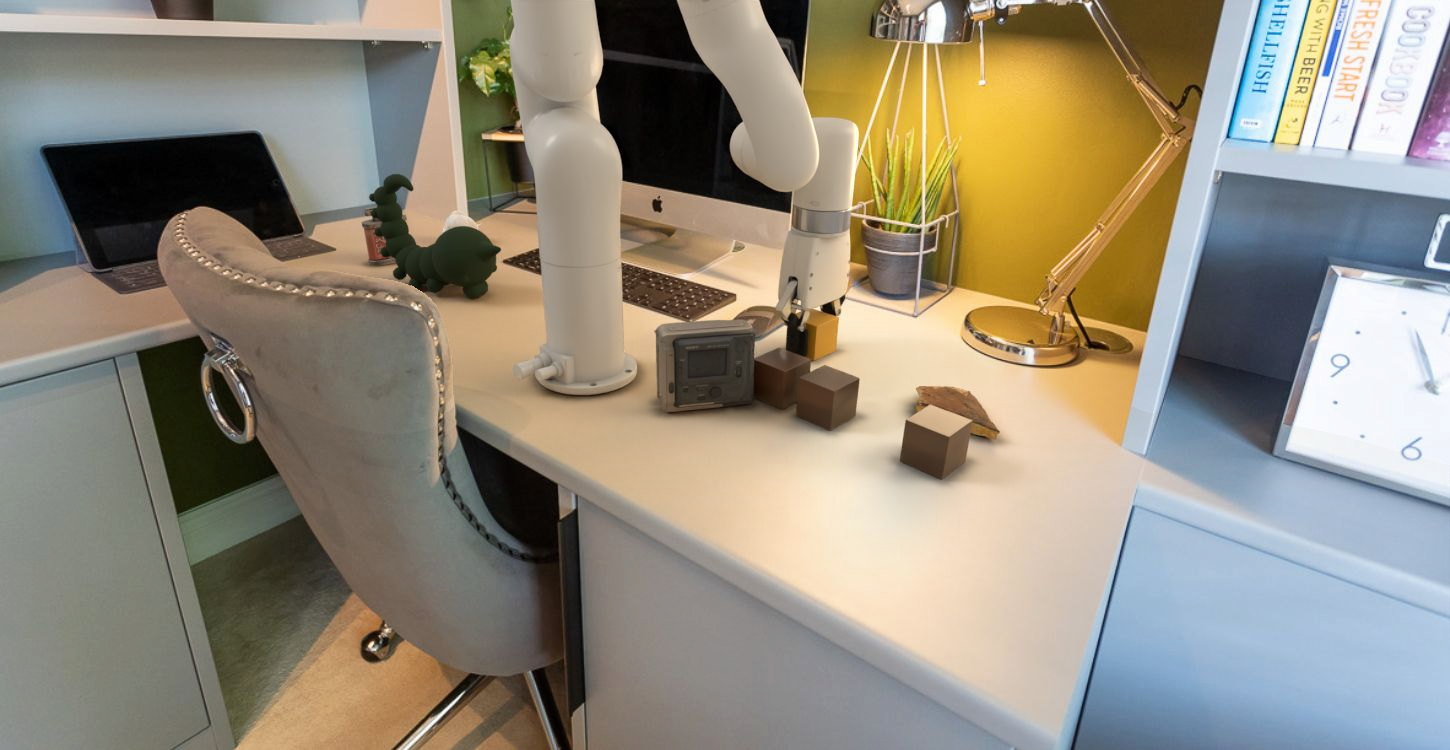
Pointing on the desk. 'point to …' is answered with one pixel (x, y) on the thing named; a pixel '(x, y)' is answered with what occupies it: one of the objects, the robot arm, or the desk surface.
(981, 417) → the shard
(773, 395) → the line block
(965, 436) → the line block
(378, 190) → the toy figurine
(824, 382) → the line block
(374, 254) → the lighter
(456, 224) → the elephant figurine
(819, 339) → the mustard block
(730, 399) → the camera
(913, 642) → the desk surface
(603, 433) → the desk surface
